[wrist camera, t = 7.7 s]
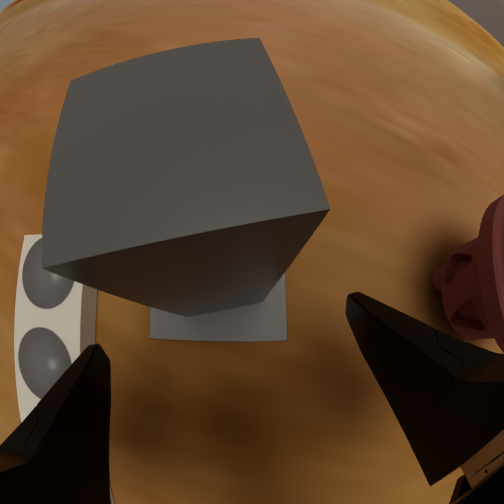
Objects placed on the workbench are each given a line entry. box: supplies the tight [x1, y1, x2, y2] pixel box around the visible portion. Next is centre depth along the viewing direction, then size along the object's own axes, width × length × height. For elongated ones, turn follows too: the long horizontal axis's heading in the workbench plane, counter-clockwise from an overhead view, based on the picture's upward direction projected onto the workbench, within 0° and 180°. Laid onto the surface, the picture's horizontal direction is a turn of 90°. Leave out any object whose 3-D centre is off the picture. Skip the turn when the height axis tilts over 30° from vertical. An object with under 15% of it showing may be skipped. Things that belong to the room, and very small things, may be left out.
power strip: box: [14, 235, 114, 504], centre depth 13 cm, size 24×6×3 cm, turn 0°
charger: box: [42, 38, 330, 317], centre depth 11 cm, size 5×4×13 cm
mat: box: [150, 273, 287, 341], centre depth 17 cm, size 8×8×1 cm
